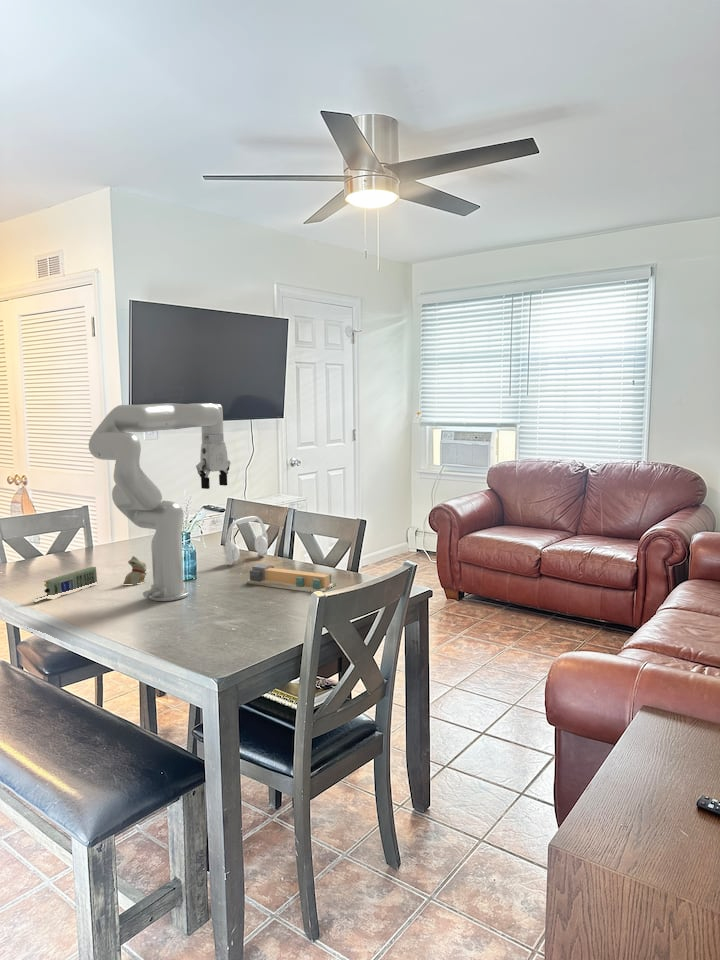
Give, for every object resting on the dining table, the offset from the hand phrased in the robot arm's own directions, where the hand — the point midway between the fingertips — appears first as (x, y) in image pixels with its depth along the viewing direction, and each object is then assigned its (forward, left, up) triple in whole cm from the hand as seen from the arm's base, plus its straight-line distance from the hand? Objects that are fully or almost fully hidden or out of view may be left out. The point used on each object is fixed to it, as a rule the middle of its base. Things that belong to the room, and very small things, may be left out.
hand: (214, 486), depth 235 cm
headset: (+25, +5, -34) cm, 42 cm away
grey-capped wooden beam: (+3, -29, -32) cm, 44 cm away
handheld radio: (-37, +34, -34) cm, 61 cm away
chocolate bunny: (-18, +22, -33) cm, 44 cm away
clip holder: (+3, -29, -33) cm, 44 cm away
